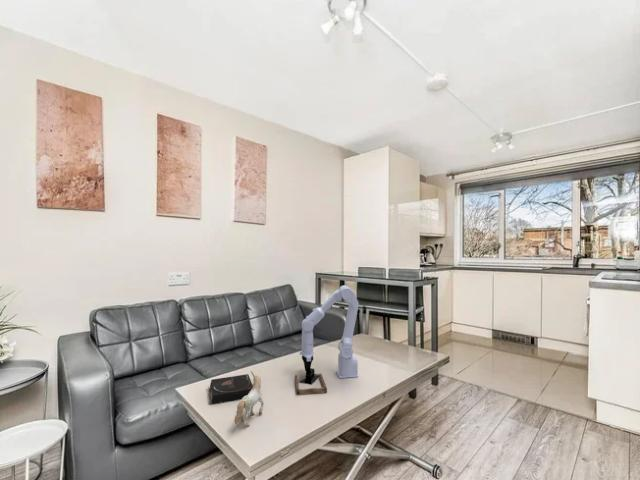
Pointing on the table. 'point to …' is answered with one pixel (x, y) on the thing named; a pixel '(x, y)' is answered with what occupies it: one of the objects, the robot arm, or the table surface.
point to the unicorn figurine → (250, 402)
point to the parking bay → (311, 390)
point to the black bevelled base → (309, 377)
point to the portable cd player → (230, 388)
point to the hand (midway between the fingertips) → (307, 371)
